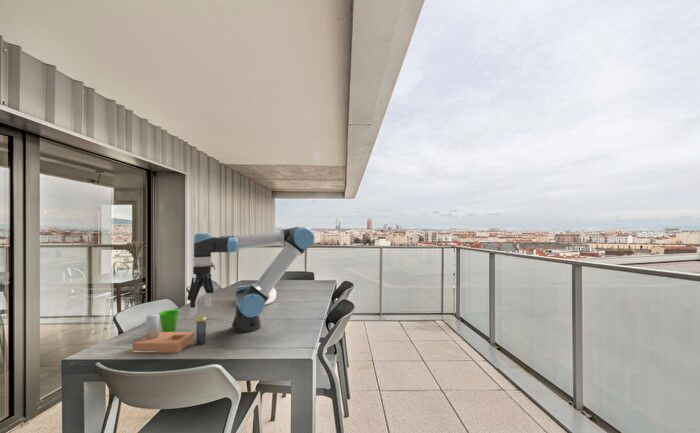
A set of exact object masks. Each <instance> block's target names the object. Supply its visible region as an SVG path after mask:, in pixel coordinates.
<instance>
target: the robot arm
mask: <svg viewBox="0 0 700 433" xmlns="http://www.w3.org/2000/svg"><path fill="white" fill-rule="evenodd" d="M314 242H315V234H314V232H313V230H311V229H310V228H309V227H306V226H294V227H291V228H285V229H280V230H279V231H274V232H273V231H271V232H270V231H269V232H262V233H250V234H239V235H238V234H237V235H223V236H222V235H221V236H218V237H217V236H216V237H215V236H213V235H212V233H209V232H208V233H207V232H203V233H202V232H198V233H195V234H194V238H193V259H192V261H193V267H192V274H193V275H195V277H192V278H191V284H190V286H189V290H188V294H187V298H186V299H187V301H189V305H190V306H189V315H191V316H193V315H194V316H195V315H198V314H197V313H198V299H197V298H198V295H199V292H200V290H201V288H202V287H203V289H204V291H205V293H204V307H205V308H210V307H211V305H212V294H213V293H214V285H213V281H212V274H211V273H212V272H211V271H212V267H211V264H212V254H215V253H230V254H231V253H236V252H237V251H238V250H240V249H241V250H242V249H249V248H251V249H252V248H261V247H263V248H264V247H272V246H281V247H283V248H282V249H281V251H280V252H279V253H278V255H276V257H275V258H274V259H273V261H272V262H271V263H270V265H269V266H268V267H267V268H266V270H265V271H264V272H263V274H261V276H260V277H259V278H258V280H257V281H256V282H254V283H251V284H248V285H247V284H246V285H240V286H239V285H238V286H236V288H235V292H234V293H235V308H234V310H235V314H234V317H233V321H232V323H231V330H232V332H235V333H250V332H254V331H257V330H259V329H261V327H262V323H261V322H262V321H261V319H260V318H261V317H260V314H261V313H262V312H263V311H264V309H265V307H266V306H265V304H266V303H267V301H268V300H269V299H270V293H271V291H272V290H273V289H274V287H275V286H276V284H278V282H279V281H280V279H281V278H282V276H284V274H285V273H286V272H287V270H289V267H291V265H292V264H293V262H294V261H295V260H296V259H297V257H298V256H302V255H303V253H305V251H306V250H308V249H309V248H311V247H312V246H313V245H314Z"/></svg>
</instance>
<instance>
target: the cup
mask: <svg viewBox="0 0 700 433" xmlns="http://www.w3.org/2000/svg"><path fill="white" fill-rule="evenodd" d="M179 314H180V310H179V309H170V310H169V309H168V310H163V311H160V312H159V319H160V322H161V329H162V332H176V328H177V324H178V317H179Z"/></svg>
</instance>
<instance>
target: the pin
mask: <svg viewBox="0 0 700 433" xmlns="http://www.w3.org/2000/svg"><path fill="white" fill-rule="evenodd" d="M207 319H208V317H207V316H199V317H196V318H195V322H196V324H195V325H196V332H195V345H196V346H203V345H206V341H207V340H206V337H207V336H206V335H207V334H206V333H207ZM202 344H203V345H202Z"/></svg>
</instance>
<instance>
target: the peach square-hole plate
mask: <svg viewBox="0 0 700 433" xmlns="http://www.w3.org/2000/svg"><path fill="white" fill-rule="evenodd" d="M145 329H146V331H145V336H144V337H142V338H139V340H137V341H133V343H132V352H133V351H155V352H154V353H179V352H181V351H182V350H184V349H185V348H186V347H187V345H188V346H189V345H190V344H192V343H193V342H194V341H196V332H195V331H175V332H163V331H160V315H159V314H158V313H154V314H153V313H151V314H148V315H146V328H145ZM191 342H192V343H191ZM156 351H157V352H156Z"/></svg>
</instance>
